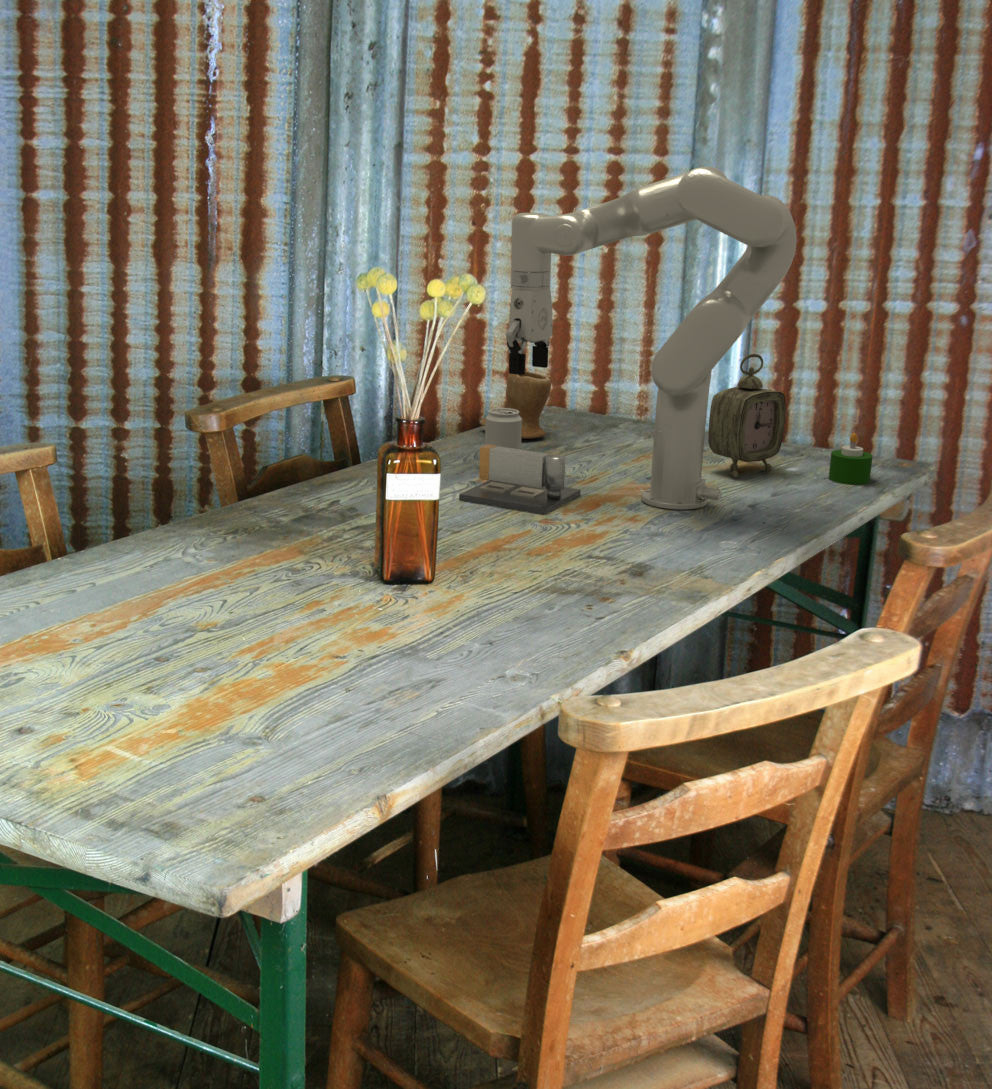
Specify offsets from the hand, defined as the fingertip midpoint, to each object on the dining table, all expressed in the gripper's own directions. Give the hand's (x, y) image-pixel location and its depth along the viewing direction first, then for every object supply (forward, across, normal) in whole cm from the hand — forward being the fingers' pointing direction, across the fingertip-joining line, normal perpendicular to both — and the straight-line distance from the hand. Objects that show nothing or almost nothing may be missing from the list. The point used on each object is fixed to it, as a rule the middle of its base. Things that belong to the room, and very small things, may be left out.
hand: (528, 370), depth 256 cm
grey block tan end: (+20, -8, -3) cm, 22 cm away
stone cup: (+23, +40, +22) cm, 51 cm away
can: (+23, +11, +11) cm, 28 cm away
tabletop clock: (+24, +36, -32) cm, 54 cm away
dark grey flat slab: (+23, -8, -3) cm, 25 cm away
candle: (+24, +44, -53) cm, 73 cm away
